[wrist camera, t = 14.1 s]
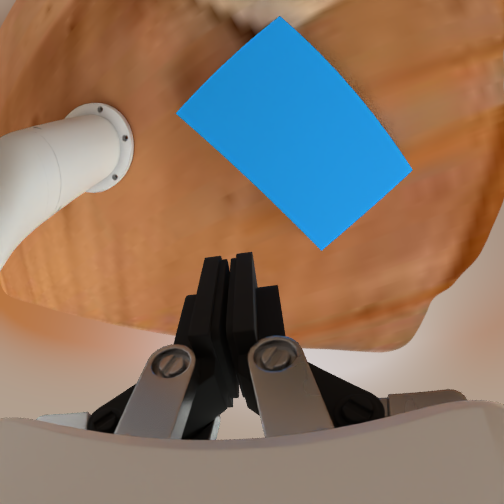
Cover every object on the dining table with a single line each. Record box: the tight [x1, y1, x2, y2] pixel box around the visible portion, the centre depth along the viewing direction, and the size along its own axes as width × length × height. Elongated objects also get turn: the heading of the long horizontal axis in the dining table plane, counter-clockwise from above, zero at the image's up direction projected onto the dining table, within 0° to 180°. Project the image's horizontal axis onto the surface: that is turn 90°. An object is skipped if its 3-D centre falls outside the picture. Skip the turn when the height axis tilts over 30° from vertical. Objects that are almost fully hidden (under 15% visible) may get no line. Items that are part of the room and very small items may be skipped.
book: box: [176, 16, 412, 251], centre depth 34 cm, size 17×4×25 cm
